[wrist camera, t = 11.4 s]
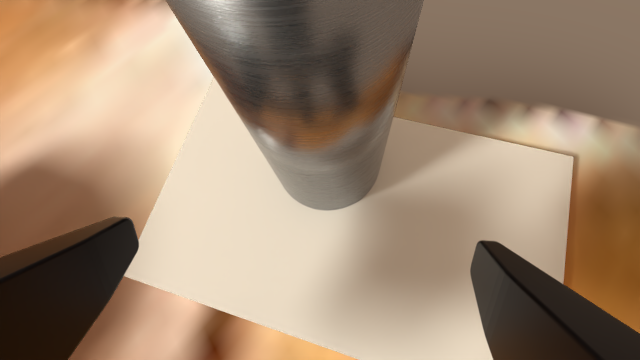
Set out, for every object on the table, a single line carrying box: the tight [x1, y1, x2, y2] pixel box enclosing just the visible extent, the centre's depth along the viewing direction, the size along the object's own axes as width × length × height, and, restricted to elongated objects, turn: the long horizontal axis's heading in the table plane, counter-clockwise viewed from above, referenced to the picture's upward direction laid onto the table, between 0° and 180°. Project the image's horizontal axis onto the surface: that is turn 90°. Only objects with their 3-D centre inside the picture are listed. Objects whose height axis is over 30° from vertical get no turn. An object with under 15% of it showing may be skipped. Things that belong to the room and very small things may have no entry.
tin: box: [166, 0, 424, 211], centre depth 11 cm, size 6×6×13 cm
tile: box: [124, 78, 574, 360], centre depth 17 cm, size 20×12×1 cm, turn 73°
